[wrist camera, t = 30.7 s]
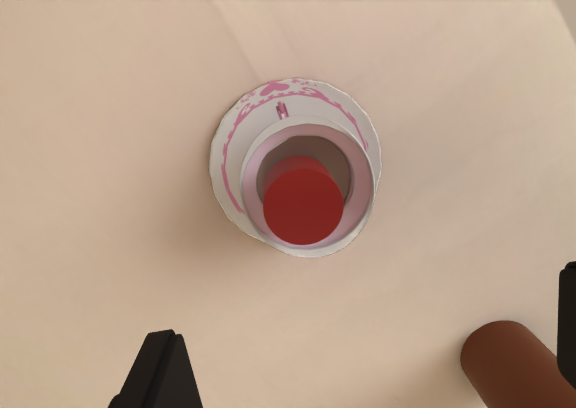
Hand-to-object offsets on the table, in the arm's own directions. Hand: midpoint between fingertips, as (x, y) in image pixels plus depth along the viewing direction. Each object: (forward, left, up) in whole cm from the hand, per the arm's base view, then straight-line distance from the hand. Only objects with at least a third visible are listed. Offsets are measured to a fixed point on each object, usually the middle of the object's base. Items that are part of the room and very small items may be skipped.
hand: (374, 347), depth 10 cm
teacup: (0, 0, -21) cm, 21 cm away
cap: (+1, 0, -14) cm, 14 cm away
